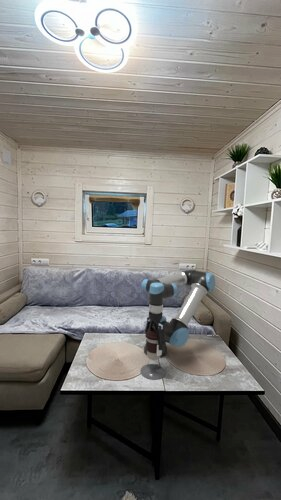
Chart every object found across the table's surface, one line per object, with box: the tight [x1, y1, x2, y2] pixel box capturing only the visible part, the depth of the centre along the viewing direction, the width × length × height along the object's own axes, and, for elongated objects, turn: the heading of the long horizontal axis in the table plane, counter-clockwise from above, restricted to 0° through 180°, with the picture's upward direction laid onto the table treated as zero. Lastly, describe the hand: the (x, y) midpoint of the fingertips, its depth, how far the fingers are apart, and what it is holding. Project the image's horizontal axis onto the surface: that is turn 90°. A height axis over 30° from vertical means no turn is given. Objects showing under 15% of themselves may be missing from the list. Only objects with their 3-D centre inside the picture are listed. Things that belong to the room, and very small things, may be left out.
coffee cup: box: [145, 329, 161, 361], centre depth 137 cm, size 10×10×15 cm
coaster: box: [140, 363, 167, 381], centre depth 139 cm, size 14×14×1 cm
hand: (153, 350), depth 138 cm, fingers closed on coffee cup, 10 cm apart
